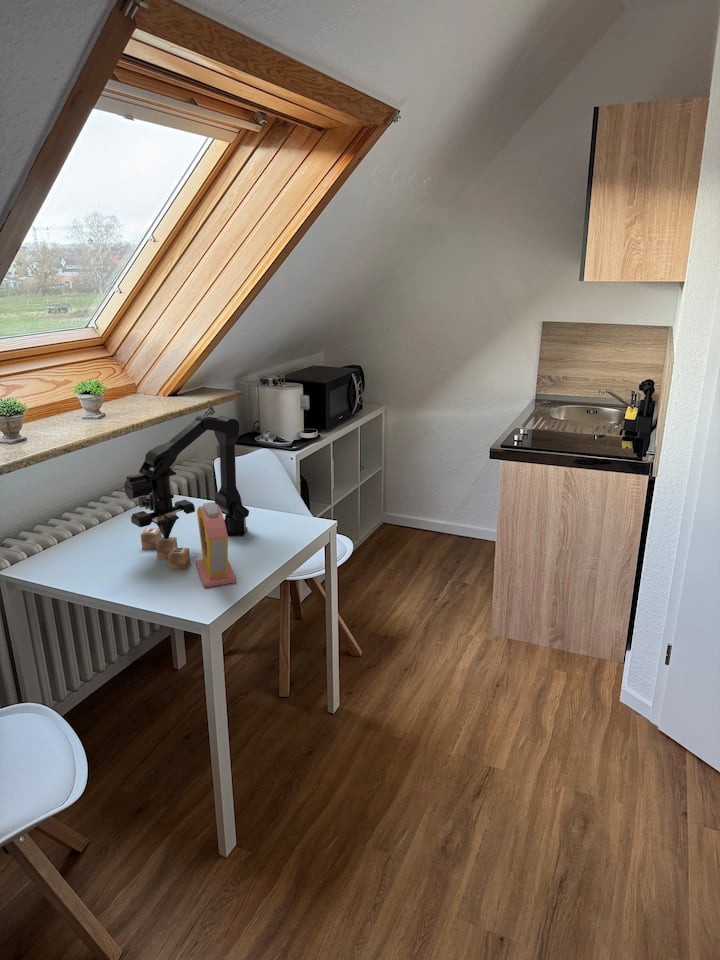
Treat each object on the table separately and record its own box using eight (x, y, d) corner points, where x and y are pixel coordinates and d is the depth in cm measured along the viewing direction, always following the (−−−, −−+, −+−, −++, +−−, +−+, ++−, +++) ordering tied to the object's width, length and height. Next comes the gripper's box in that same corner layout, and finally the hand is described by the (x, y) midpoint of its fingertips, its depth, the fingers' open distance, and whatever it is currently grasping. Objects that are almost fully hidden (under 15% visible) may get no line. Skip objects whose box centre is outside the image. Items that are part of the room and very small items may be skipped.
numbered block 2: (190, 562, 211) (188, 546, 209) (185, 570, 206) (184, 553, 204) (173, 562, 211) (172, 546, 209) (169, 570, 206) (167, 553, 204)
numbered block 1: (162, 542, 225) (160, 527, 223) (157, 548, 220) (156, 533, 219) (147, 542, 225) (145, 527, 223) (142, 548, 220) (140, 533, 219)
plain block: (177, 551, 218) (176, 537, 217) (173, 558, 214) (171, 543, 212) (162, 551, 218) (160, 537, 217) (157, 558, 214) (155, 543, 212)
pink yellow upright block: (194, 561, 211) (188, 494, 204) (224, 556, 214) (220, 491, 208) (205, 593, 192) (199, 521, 185) (238, 587, 195) (234, 516, 188)
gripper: (175, 478, 221) (179, 523, 226) (119, 492, 209) (125, 539, 214) (193, 486, 213) (197, 533, 218) (137, 501, 201) (143, 550, 206)
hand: (166, 538), depth 214 cm, fingers closed
